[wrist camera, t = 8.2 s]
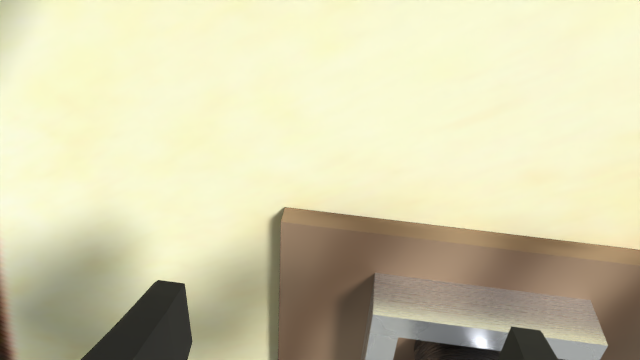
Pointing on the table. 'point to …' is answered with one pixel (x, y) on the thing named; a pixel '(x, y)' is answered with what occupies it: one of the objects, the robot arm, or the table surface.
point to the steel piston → (451, 352)
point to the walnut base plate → (434, 277)
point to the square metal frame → (475, 317)
